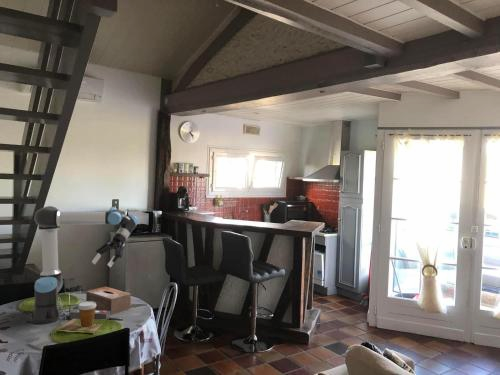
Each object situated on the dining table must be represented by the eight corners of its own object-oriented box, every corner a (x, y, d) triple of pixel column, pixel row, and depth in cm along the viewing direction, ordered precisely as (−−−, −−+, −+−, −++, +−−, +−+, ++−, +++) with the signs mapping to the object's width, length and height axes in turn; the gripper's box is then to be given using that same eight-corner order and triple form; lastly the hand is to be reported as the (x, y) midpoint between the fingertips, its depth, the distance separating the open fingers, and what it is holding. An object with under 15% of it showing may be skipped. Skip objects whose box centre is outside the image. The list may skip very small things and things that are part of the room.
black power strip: (69, 318, 234) (69, 311, 234) (74, 315, 240) (75, 308, 240) (121, 321, 232) (121, 314, 232) (125, 318, 238) (125, 310, 238)
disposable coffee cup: (76, 328, 216) (76, 306, 216) (79, 322, 225) (79, 301, 225) (95, 327, 218) (95, 305, 218) (97, 321, 227) (97, 300, 227)
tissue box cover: (86, 306, 258) (86, 291, 257) (105, 301, 270) (105, 286, 269) (111, 315, 243) (111, 299, 243) (130, 309, 255) (130, 293, 255)
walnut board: (58, 331, 215) (58, 328, 215) (73, 321, 231) (73, 318, 231) (94, 333, 214) (94, 331, 214) (107, 323, 230) (107, 320, 230)
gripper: (138, 242, 246) (119, 271, 234) (110, 238, 259) (90, 265, 246) (132, 234, 242) (112, 263, 229) (104, 230, 254) (83, 258, 241)
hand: (100, 264), depth 237 cm, fingers open, 13 cm apart
